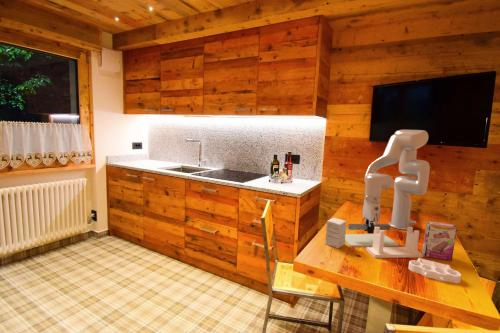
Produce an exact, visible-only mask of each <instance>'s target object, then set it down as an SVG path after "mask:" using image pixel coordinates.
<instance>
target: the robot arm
mask: <svg viewBox="0 0 500 333" xmlns="http://www.w3.org/2000/svg"><path fill="white" fill-rule="evenodd" d="M428 141H429V134H428V132H427V131H426V130H422V129H399V130H396V131H395V132H394V134H392V135H391V136H390V138H389V139H388V142H387V145H386V146H385V150H384V151H383V154H382V156H380V157H378V158H377V159H375V160H374V161H373V162H371V163H370V164H369V166H368V168H367V170H366V172H365V175H364V183H365V189H364V190H365V191H364V200H363V207H362V217H363V220H364V224H369V226H368V230H363V231H365V232H366V234H374V227H375V225H377V224H379V223H378V222H380V221H381V193H382V189H383V190H388V189H391V188H392V187H393V190H394V192H393V193H394V194H393V205H392V212H391V213H392V214H391V220H390V221H388V223H387V224H389V225H390V228H394V229H398V230H403V231H407V229H408V227H412V225H417V221H416V220H412V219H410V217H411V210H412V202H413V201H412V197H411V195H410V194H414V195H418V196H422V195H425V194H427V193H426V192H427V190H428V185H429V184H428V183H429V176H430V171H431V170H430V169H431V166H430V163H429V162H428V161H426V160H422V159H417V154H418V149H420V148H421V147H423V146H426V144H427V142H428ZM397 163H398V171H399V173H401V174H403V175H400V176H399V175H398V176H397V177H395V179H394V178H393V177H392V176H391V175H389V174H385V173H378V170H380V169H381V168H383V167H387V166H392V165H394V164H397ZM405 175H408V176H405ZM411 176H415V177H411Z"/></svg>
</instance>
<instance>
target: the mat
mask: <svg viewBox="0 0 500 333" xmlns="http://www.w3.org/2000/svg"><path fill="white" fill-rule="evenodd" d="M373 238H374V233H373V234H368V233H360V234H359V233H356V234H355V233H353V234H352V233H350V234H349V233H346V234H345V244H347V245H348V246H349V247H357V248H358V247H364V248H366V247H373ZM383 247H400V244H399V243H397V242H396V241H394V240H393V239H392V238H390V237H389V236H387V235H386V234H385V236H384V246H383Z"/></svg>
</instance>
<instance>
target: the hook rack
mask: <svg viewBox="0 0 500 333" xmlns="http://www.w3.org/2000/svg"><path fill="white" fill-rule="evenodd" d="M413 229H414V227H413V226H411V227H408V229H407V230H406V238H405V246H384V236H385V235H386V230H380V227H375V229H374V233H373V234H374V238H373V246H365V251H367V252H368V254H370V255H371V256H372V257H373V258H374V259H383V258H384V259H386V258H388V259H389V258H391V259H392V258H395V259H396V258H398V259H399V258H424V254H423V253H422V252H420V251H419V250H418V245H419V236H420V230H417V229H416V230H413Z"/></svg>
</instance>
